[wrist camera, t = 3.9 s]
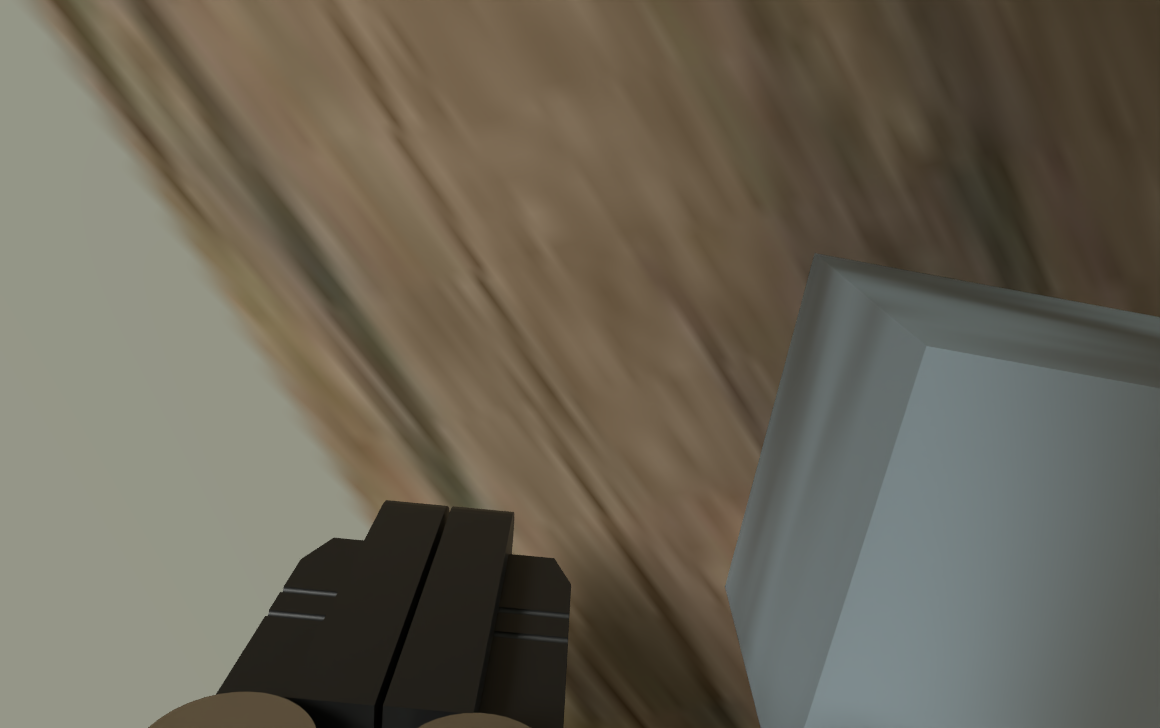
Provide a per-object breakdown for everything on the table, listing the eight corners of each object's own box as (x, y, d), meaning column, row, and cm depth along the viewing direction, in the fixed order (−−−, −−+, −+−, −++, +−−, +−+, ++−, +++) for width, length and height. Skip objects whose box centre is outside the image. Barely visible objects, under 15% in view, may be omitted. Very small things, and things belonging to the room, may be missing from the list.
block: (723, 581, 16) (779, 803, 11) (812, 251, 14) (926, 346, 9) (1104, 646, 16) (1319, 890, 11) (1241, 331, 14) (1567, 462, 9)
